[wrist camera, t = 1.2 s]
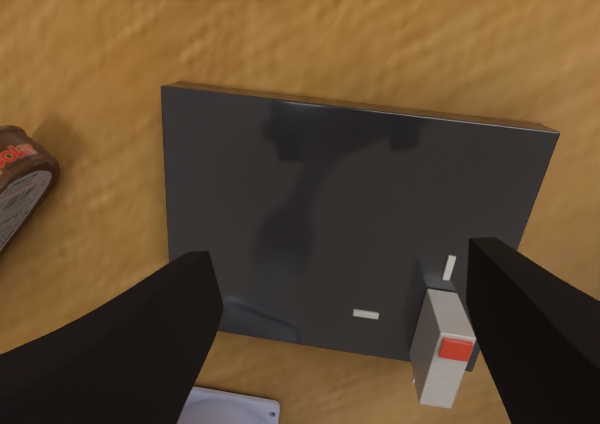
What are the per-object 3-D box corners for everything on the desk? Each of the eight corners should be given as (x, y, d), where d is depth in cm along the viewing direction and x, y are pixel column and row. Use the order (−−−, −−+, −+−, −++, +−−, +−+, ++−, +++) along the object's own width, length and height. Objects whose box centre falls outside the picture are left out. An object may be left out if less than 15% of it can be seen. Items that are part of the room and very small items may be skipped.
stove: (479, 367, 25) (490, 395, 23) (184, 320, 26) (171, 343, 24) (570, 126, 19) (596, 136, 17) (177, 81, 20) (158, 85, 18)
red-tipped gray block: (436, 357, 22) (452, 413, 19) (409, 353, 22) (419, 408, 19) (457, 292, 20) (478, 342, 17) (426, 287, 21) (441, 336, 17)
